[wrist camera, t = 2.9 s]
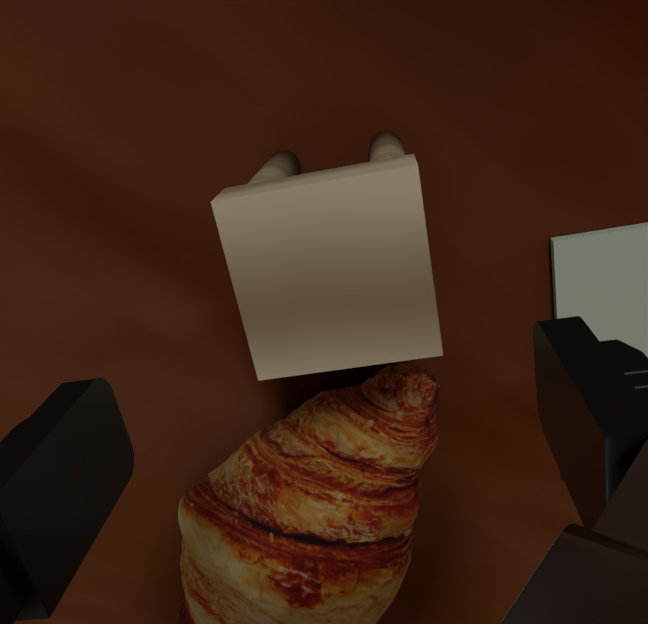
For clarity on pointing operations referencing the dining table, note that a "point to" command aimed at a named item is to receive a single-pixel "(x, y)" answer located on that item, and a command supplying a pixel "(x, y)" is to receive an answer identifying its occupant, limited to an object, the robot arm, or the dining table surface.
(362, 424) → the croissant
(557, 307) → the mat
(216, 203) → the stool
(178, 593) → the dining table surface
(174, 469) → the dining table surface
